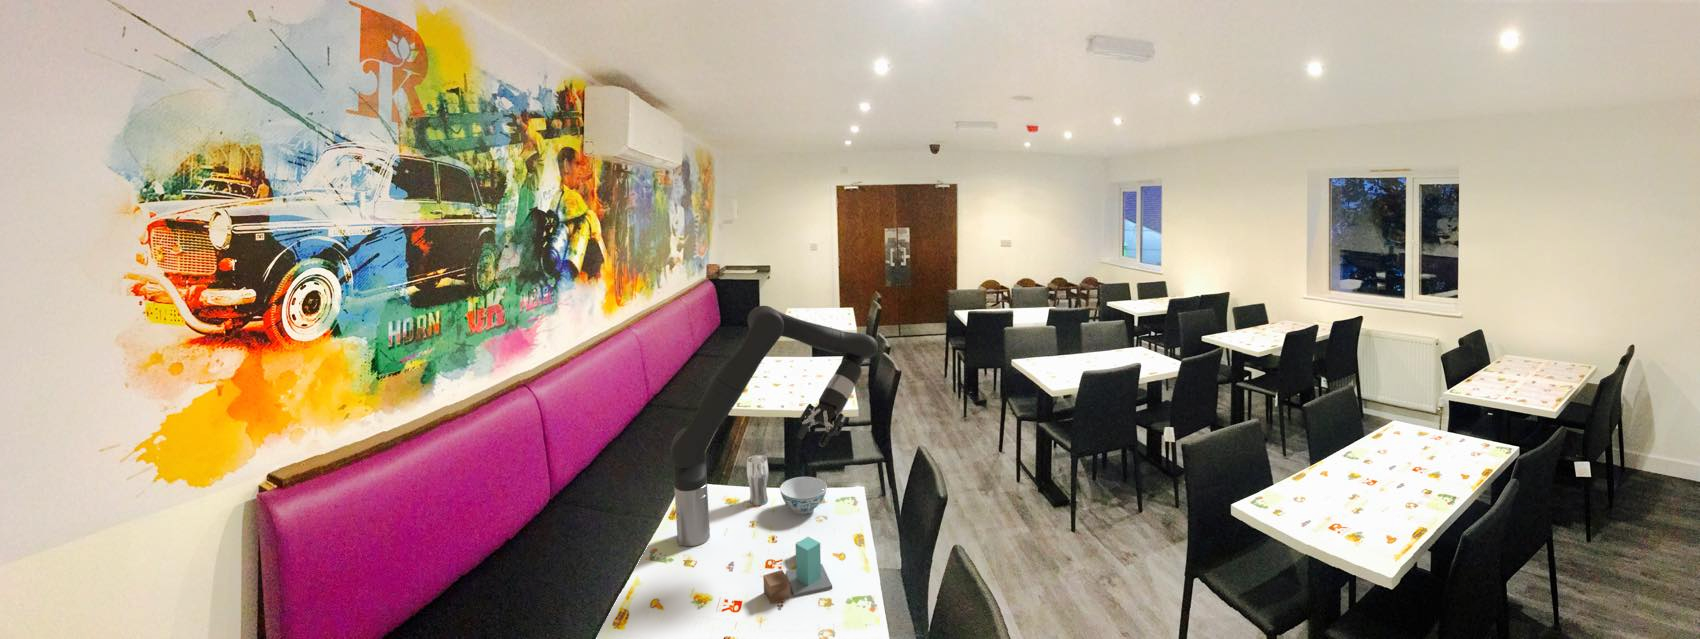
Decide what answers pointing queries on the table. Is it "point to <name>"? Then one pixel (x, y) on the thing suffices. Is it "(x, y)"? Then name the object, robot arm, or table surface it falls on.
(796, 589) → the coaster
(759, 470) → the beer glass
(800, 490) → the chinaware
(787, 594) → the walnut cube
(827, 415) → the robot arm
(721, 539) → the table surface
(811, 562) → the teal block
